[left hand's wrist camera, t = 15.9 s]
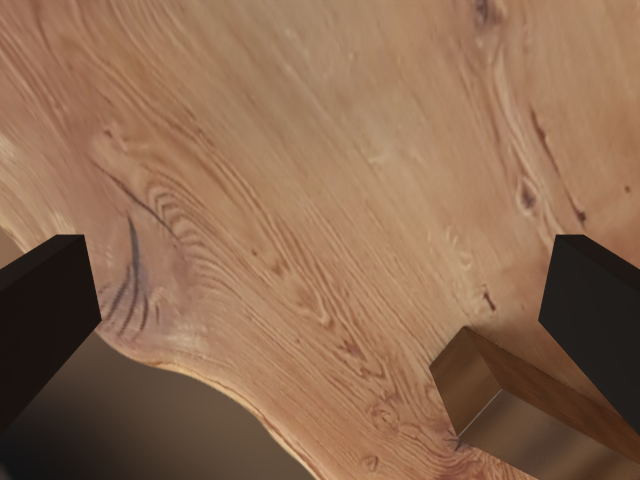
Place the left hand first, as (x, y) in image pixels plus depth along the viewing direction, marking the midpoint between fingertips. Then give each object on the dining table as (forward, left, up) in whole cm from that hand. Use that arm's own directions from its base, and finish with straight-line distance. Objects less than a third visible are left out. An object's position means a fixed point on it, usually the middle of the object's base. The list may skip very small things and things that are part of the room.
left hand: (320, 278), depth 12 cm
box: (+3, +39, -30) cm, 49 cm away
